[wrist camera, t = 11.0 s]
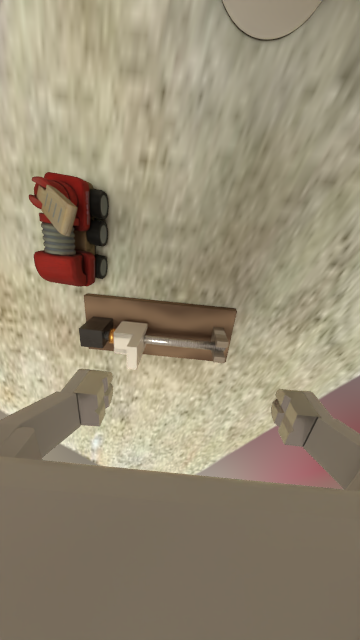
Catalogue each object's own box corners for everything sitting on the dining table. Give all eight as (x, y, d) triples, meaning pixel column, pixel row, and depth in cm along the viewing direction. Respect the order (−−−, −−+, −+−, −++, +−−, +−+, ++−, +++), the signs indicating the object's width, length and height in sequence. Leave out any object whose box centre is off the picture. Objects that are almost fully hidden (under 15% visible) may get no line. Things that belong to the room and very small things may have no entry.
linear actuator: (87, 293, 41) (66, 305, 34) (235, 308, 41) (244, 323, 34) (91, 345, 46) (74, 364, 39) (224, 358, 46) (230, 380, 39)
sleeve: (122, 321, 40) (104, 344, 31) (147, 323, 40) (136, 347, 31) (122, 339, 41) (106, 366, 33) (146, 342, 41) (136, 369, 33)
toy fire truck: (64, 272, 40) (-22, 300, 23) (59, 179, 33) (-63, 128, 17) (122, 283, 40) (77, 317, 24) (127, 192, 34) (72, 154, 18)
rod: (93, 316, 41) (79, 328, 36) (222, 329, 41) (228, 343, 36) (94, 332, 43) (81, 346, 37) (219, 344, 43) (224, 360, 37)
